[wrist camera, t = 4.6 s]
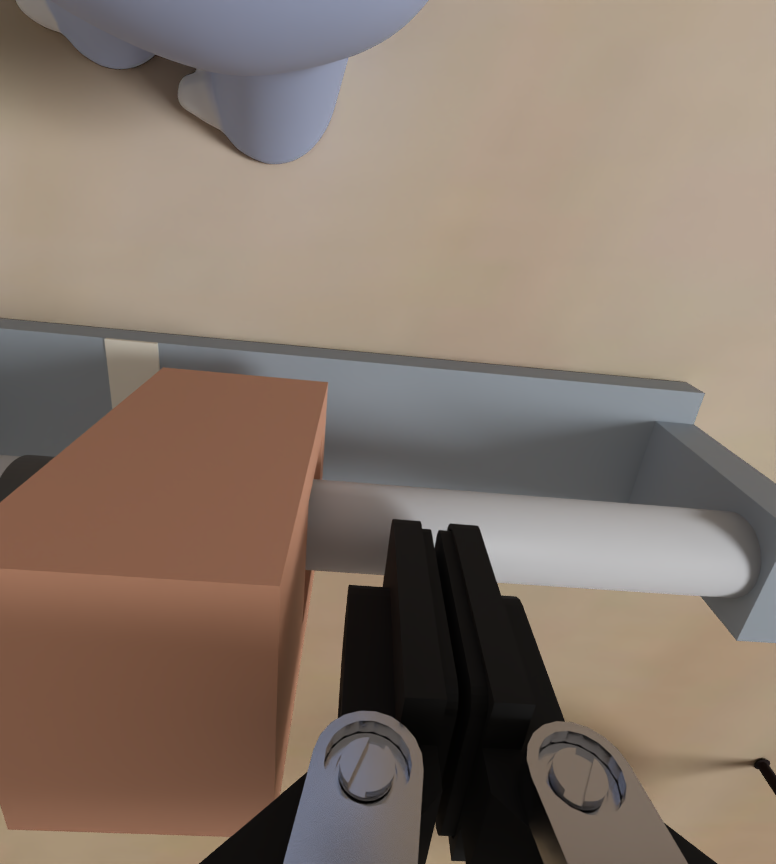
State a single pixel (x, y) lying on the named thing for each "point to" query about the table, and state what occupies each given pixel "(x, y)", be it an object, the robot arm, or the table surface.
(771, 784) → the lollipop
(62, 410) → the rail
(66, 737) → the collar
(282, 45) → the hippopotamus toy
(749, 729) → the table surface
